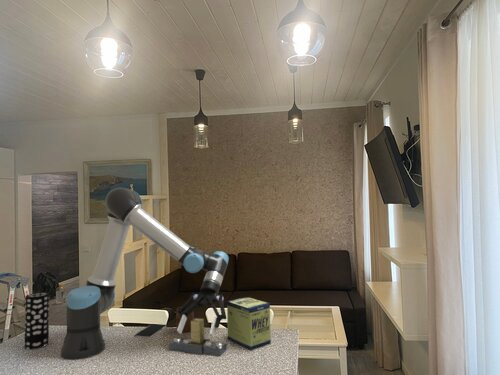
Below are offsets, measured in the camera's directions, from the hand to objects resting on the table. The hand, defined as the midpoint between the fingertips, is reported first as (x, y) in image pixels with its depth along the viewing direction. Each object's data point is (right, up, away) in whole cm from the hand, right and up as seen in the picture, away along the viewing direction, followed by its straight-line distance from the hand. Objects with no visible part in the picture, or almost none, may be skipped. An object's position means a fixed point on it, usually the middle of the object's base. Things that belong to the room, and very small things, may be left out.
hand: (194, 333), depth 130 cm
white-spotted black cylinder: (-66, -9, +10) cm, 67 cm away
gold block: (+1, -7, +1) cm, 7 cm away
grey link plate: (+1, -7, +1) cm, 7 cm away
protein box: (+20, -7, +9) cm, 23 cm away
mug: (-9, -9, +23) cm, 26 cm away
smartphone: (-23, -10, +24) cm, 34 cm away
